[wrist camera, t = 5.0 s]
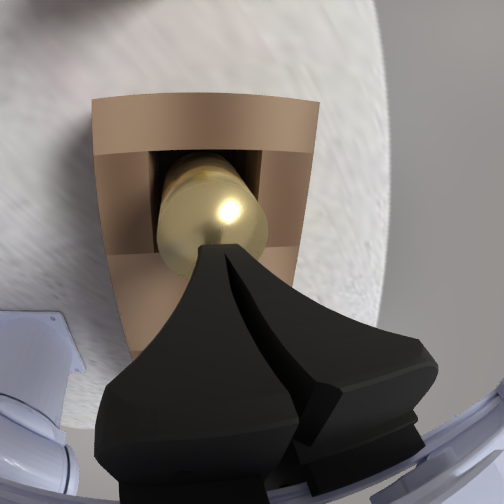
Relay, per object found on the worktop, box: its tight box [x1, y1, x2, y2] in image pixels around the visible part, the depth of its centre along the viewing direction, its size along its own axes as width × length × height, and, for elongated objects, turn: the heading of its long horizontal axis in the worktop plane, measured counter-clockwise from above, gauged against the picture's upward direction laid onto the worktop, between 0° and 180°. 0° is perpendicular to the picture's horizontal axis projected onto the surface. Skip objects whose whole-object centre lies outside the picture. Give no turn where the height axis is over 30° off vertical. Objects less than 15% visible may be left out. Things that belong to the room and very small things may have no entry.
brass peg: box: [157, 152, 268, 281], centre depth 13 cm, size 4×4×6 cm
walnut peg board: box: [92, 93, 320, 361], centre depth 19 cm, size 10×22×6 cm, turn 176°
